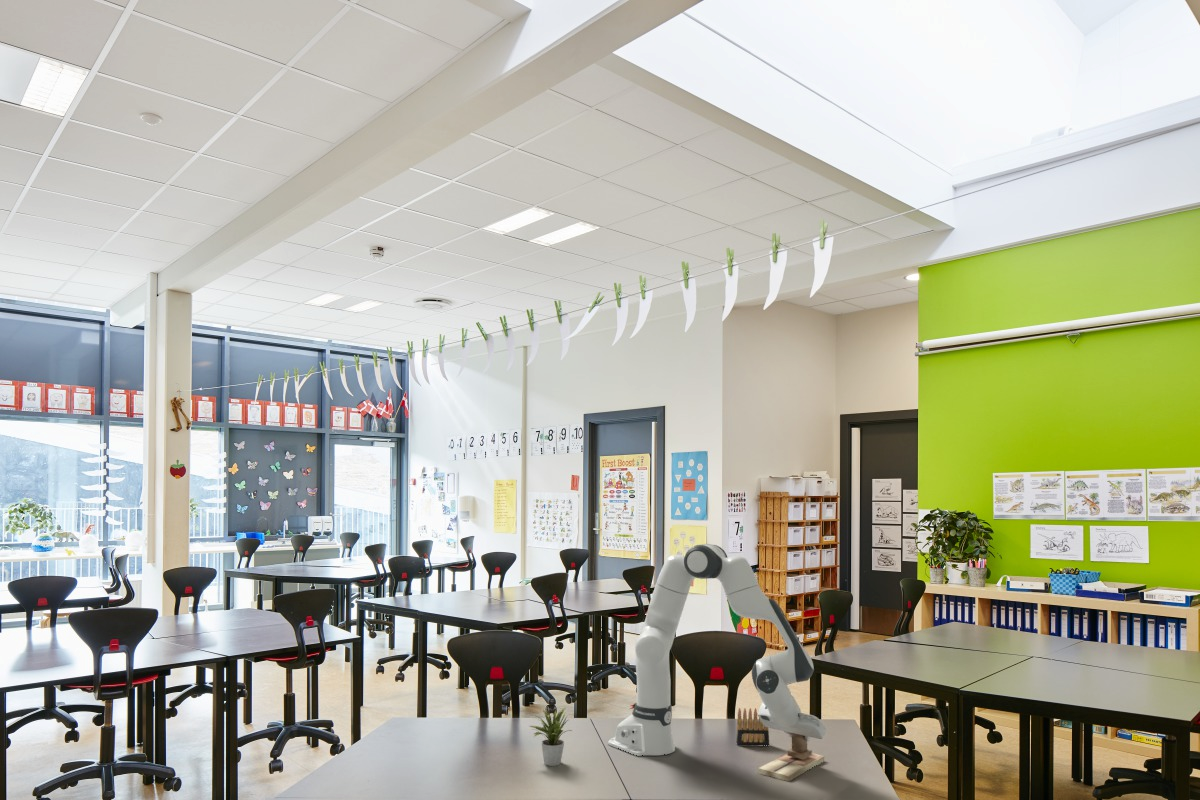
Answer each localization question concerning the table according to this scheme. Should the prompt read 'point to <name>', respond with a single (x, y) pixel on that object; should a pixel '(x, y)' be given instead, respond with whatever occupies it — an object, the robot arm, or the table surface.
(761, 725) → the ammunition clip
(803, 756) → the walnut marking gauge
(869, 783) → the table surface
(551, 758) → the house plant
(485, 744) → the table surface
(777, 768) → the maple board
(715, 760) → the table surface
